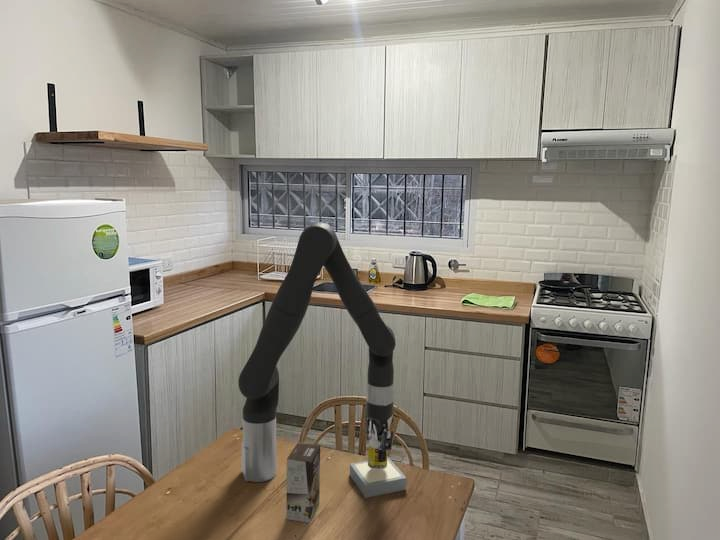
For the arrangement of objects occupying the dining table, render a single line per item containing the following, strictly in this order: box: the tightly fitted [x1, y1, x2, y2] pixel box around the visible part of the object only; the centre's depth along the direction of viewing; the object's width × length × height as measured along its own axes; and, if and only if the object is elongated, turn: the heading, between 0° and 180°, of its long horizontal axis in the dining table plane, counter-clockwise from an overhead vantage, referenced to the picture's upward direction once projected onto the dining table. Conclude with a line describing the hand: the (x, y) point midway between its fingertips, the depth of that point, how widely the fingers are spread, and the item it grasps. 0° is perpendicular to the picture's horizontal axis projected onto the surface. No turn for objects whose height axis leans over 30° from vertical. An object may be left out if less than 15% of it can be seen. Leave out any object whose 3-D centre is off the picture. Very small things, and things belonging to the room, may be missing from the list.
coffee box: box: [285, 442, 321, 524], centre depth 135 cm, size 9×6×16 cm
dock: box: [349, 456, 407, 499], centre depth 150 cm, size 12×12×4 cm
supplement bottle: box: [367, 432, 389, 470], centre depth 149 cm, size 5×5×10 cm
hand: (377, 456), depth 149 cm, fingers closed on supplement bottle, 5 cm apart
